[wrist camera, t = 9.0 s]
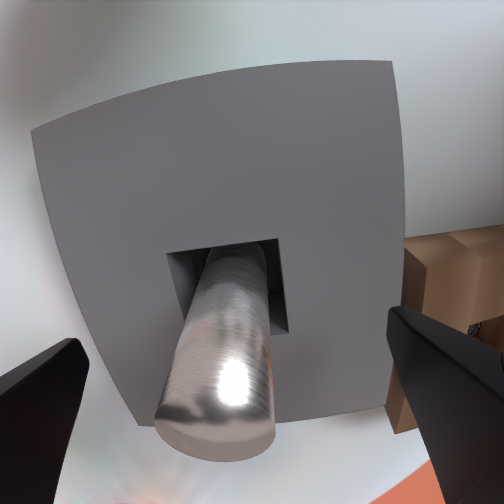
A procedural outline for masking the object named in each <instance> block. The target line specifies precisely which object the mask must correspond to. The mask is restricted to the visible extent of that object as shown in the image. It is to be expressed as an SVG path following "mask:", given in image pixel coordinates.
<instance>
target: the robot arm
mask: <svg viewBox="0 0 504 504" xmlns="http://www.w3.org/2000/svg"><path fill="white" fill-rule="evenodd" d="M386 337H387V342H388V345H389V348H390V351H391V354H392V358H393V361H394V364H395V367H396V371H397V374H398V378H399V381H400V384H401V387H402V389H403V392H404V394H405V396H406V399H407V401H408V404H409V406H410V408H411V411H412V413H413V416H414V418H415V421H416V423H417V426H418V428H419V431H420V433H421V436H422V438H423V441H424V444H425V446H426V449H427V452H428V454H429V457H430V460H431V462H432V465H433V468H434V471H435V474H436V476H437V479H438V482H439V485H440V488H441V491H442V494H443V497H444V500H445V503H446V504H504V352H500V350H498V349H496V348H494V347H492V346H490V345H488V344H486V343H484V342H482V341H479V340H477V339H475V338H473V337H471V336H469V335H467V334H465V333H463V332H460V331H458V330H456V329H454V328H452V327H450V326H448V325H446V324H443V323H441V322H439V321H437V320H435V319H433V318H431V317H428V316H426V315H424V314H422V313H420V312H418V311H416V310H413V309H411V308H409V307H407V306H405V305H400V306H394V307H391V308H390V309H389V311H388V319H387V330H386ZM88 370H89V359H88V357H87V354H86V352H85V350H84V348H83V346H82V344H81V342H80V341H79V340H78V339H77V338H66V339H64V340H62V341H60V342H59V343H57V344H55V345H54V346H52V347H50V348H48V349H47V350H45V351H43V352H41V353H40V354H38V355H36V356H35V357H33V358H31V359H30V360H28V361H26V362H24V363H23V364H21V365H19V366H18V367H16V368H14V369H13V370H11V371H9V372H7V373H6V374H4V375H2V376H1V377H0V504H53V503H54V498H55V494H56V490H57V485H58V481H59V477H60V473H61V469H62V465H63V462H64V458H65V454H66V451H67V447H68V444H69V440H70V437H71V433H72V430H73V427H74V424H75V420H76V417H77V414H78V411H79V407H80V404H81V400H82V395H83V391H84V387H85V382H86V378H87V374H88Z"/></svg>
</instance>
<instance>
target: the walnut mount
mask: <svg viewBox="0 0 504 504" xmlns="http://www.w3.org/2000/svg"><path fill="white" fill-rule="evenodd" d="M401 305H405V306H407V307H409V308H411V309H413V310H416V311H418V312H420V313H422V314H424V315H426V316H428V317H431V318H433V319H435V320H437V321H439V322H441V323H443V324H446V325H448V326H450V327H452V328H454V329H456V330H458V331H460V332H463V333H465V334H467V332H468V328H469V325H473V324H476V323H479V322H481V325H480V329H479V333H478V335H475V336H471V337H473V338H475V339H477V340H479V341H482V342H484V343H486V344H488V345H490V346H492V347H494V348H496V349H498V350H500V352H504V225H497V226H490V227H483V228H476V229H469V230H462V231H455V232H447V233H440V234H433V235H426V236H418V237H411V238H405V240H404V265H403V281H402V294H401ZM384 407H385V409H386V412H387V415H388V417H389V420H390V423H391V426H392V428H393V431H394V434H398V433H402V432H405V431H409V430H412V429H416V428H418V426H417V423H416V421H415V418H414V416H413V413H412V411H411V408H410V406H409V404H408V401H407V399H406V396H405V394H404V392H403V389H402V387H401V384H400V381H399V378H398V374H397V371H396V367H395V364H394V361H393V367H392V373H391V379H390V384H389V389H388V395H387V400H386V404H385V405H384Z"/></svg>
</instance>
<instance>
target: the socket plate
mask: <svg viewBox="0 0 504 504" xmlns="http://www.w3.org/2000/svg"><path fill="white" fill-rule="evenodd" d="M31 135H32V141H33V147H34V153H35V159H36V164H37V169H38V174H39V179H40V183H41V188H42V192H43V196H44V200H45V204H46V208H47V212H48V216H49V219H50V223H51V227H52V230H53V233H54V237H55V240H56V243H57V247H58V250H59V253H60V256H61V259H62V262H63V265H64V268H65V271H66V274H67V276H68V279H69V282H70V285H71V287H72V290H73V293H74V295H75V298H76V300H77V303H78V305H79V308H80V310H81V313H82V315H83V317H84V320H85V322H86V325H87V327H88V329H89V331H90V334H91V336H92V338H93V340H94V342H95V345H96V347H97V349H98V351H99V353H100V355H101V357H102V359H103V361H104V363H105V365H106V367H107V369H108V371H109V373H110V375H111V377H112V379H113V381H114V383H115V385H116V387H117V388H118V390H119V392H120V394H121V396H122V398H123V399H124V401H125V403H126V405H127V406H128V408H129V410H130V412H131V413H132V415H133V417H134V418H135V420H136V422H137V423H138V425H139V426H153V427H155V423H154V418H155V414H156V410H157V407H158V404H159V401H160V397H161V394H162V391H163V388H164V385H165V382H166V378H167V375H168V372H169V369H170V366H171V363H172V360H173V357H174V354H175V351H176V348H177V345H178V342H179V339H180V336H181V333H182V330H183V327H184V324H185V321H186V318H187V315H188V312H189V309H190V306H191V303H192V300H193V298H194V295H195V292H196V289H197V286H198V281H197V277H196V273H195V268H194V264H193V260H192V255H191V251H190V250H193V249H200V248H208V247H215V246H223V245H230V244H237V243H245V242H253V241H260V240H268V239H275V238H277V245H278V253H279V261H280V269H281V277H282V286H283V293H280V294H272V295H268V307H269V324H270V341H271V359H272V377H273V396H274V416H275V423H284V422H292V421H300V420H308V419H315V418H321V417H328V416H334V415H339V414H345V413H350V412H355V411H360V410H365V409H370V408H374V407H379V406H383V405H385V404H386V400H387V395H388V389H389V384H390V379H391V373H392V367H393V358H392V354H391V351H390V348H389V345H388V342H387V337H386V330H387V319H388V311H389V309H390V308H391V307H394V306H400V305H401V294H402V281H403V265H404V240H405V190H404V165H403V149H402V136H401V125H400V116H399V107H398V99H397V92H396V85H395V78H394V72H393V66H392V61H374V60H336V61H312V62H297V63H285V64H275V65H266V66H257V67H250V68H243V69H236V70H230V71H224V72H218V73H212V74H207V75H202V76H197V77H192V78H187V79H183V80H179V81H174V82H170V83H166V84H162V85H158V86H154V87H150V88H147V89H143V90H140V91H136V92H133V93H129V94H126V95H123V96H119V97H116V98H113V99H110V100H107V101H104V102H101V103H98V104H95V105H92V106H90V107H87V108H84V109H82V110H79V111H76V112H74V113H71V114H68V115H66V116H63V117H61V118H59V119H56V120H54V121H51V122H49V123H47V124H44V125H42V126H40V127H38V128H35V129H33V130H31Z"/></svg>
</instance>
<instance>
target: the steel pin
mask: <svg viewBox="0 0 504 504" xmlns="http://www.w3.org/2000/svg"><path fill="white" fill-rule="evenodd" d="M154 423H155V427H156V430H157V432H158V433H159V435H160V436H161V437H162V439H163V440H164V441H165V442H167V443H168V444H169V445H170V446H172V447H173V448H175V449H176V450H178V451H180V452H182V453H184V454H187V455H189V456H192V457H195V458H198V459H203V460H208V461H217V462H232V461H240V460H245V459H248V458H252V457H254V456H257V455H259V454H260V453H262V452H264V451H265V450H266V449H267V448H268V447H269V446H270V445H271V444H272V443H273V441H274V438H275V416H274V396H273V377H272V359H271V341H270V324H269V307H268V291H267V275H266V259H265V254H264V251H263V250H262V248H261V246H260V245H259V244H258V243H257V242H256V241H253V242H245V243H237V244H230V245H223V246H215V247H212V248H211V250H210V253H209V255H208V258H207V261H206V264H205V266H204V269H203V272H202V275H201V278H200V280H199V283H198V286H197V289H196V292H195V295H194V298H193V300H192V303H191V306H190V309H189V312H188V315H187V318H186V321H185V324H184V327H183V330H182V333H181V336H180V339H179V342H178V345H177V348H176V351H175V354H174V357H173V360H172V363H171V366H170V369H169V372H168V375H167V378H166V382H165V385H164V388H163V391H162V394H161V397H160V401H159V404H158V407H157V410H156V414H155V418H154Z"/></svg>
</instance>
